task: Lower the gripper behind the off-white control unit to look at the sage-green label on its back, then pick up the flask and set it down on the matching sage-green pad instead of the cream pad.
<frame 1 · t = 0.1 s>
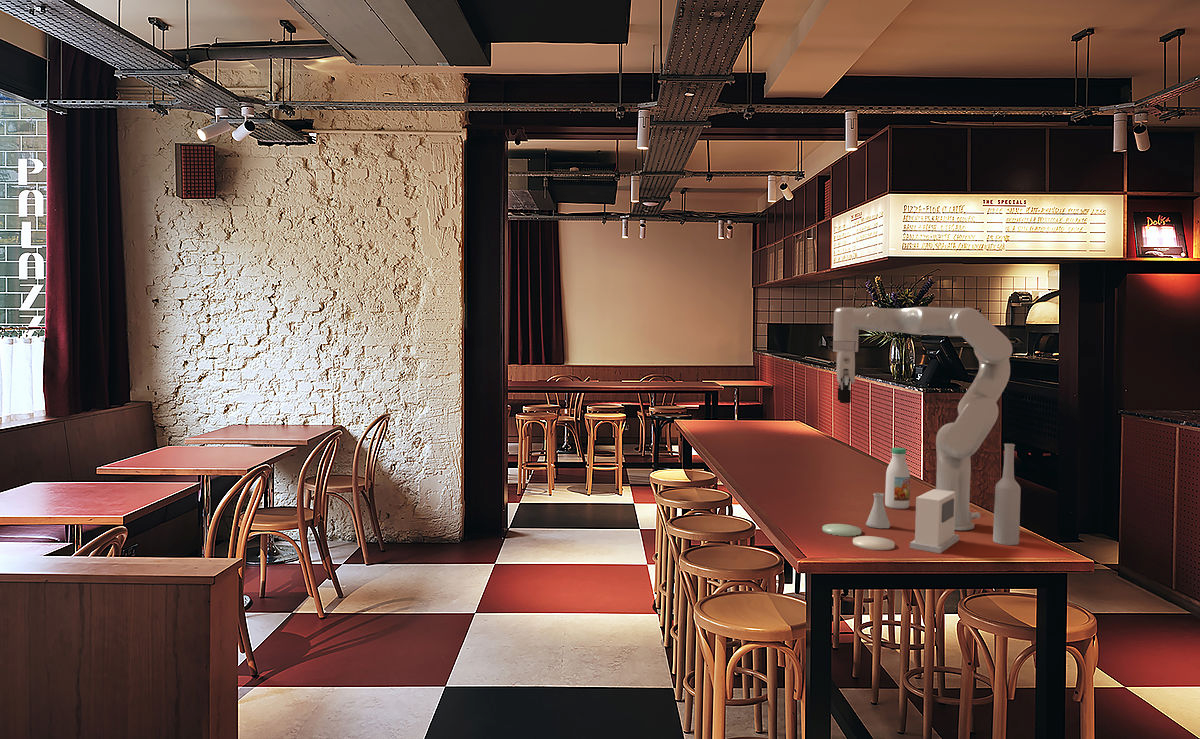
hand: (843, 401, 251), 37 cm above the table, tool pointing down, fingers open, 9 cm apart
control unit: (934, 544, 224), on the table
flask: (877, 527, 244), on the table
bottle: (1005, 543, 227), on the table
green pad: (841, 531, 237), on the table
milk bottle: (897, 507, 272), on the table
cream pad: (873, 544, 223), on the table
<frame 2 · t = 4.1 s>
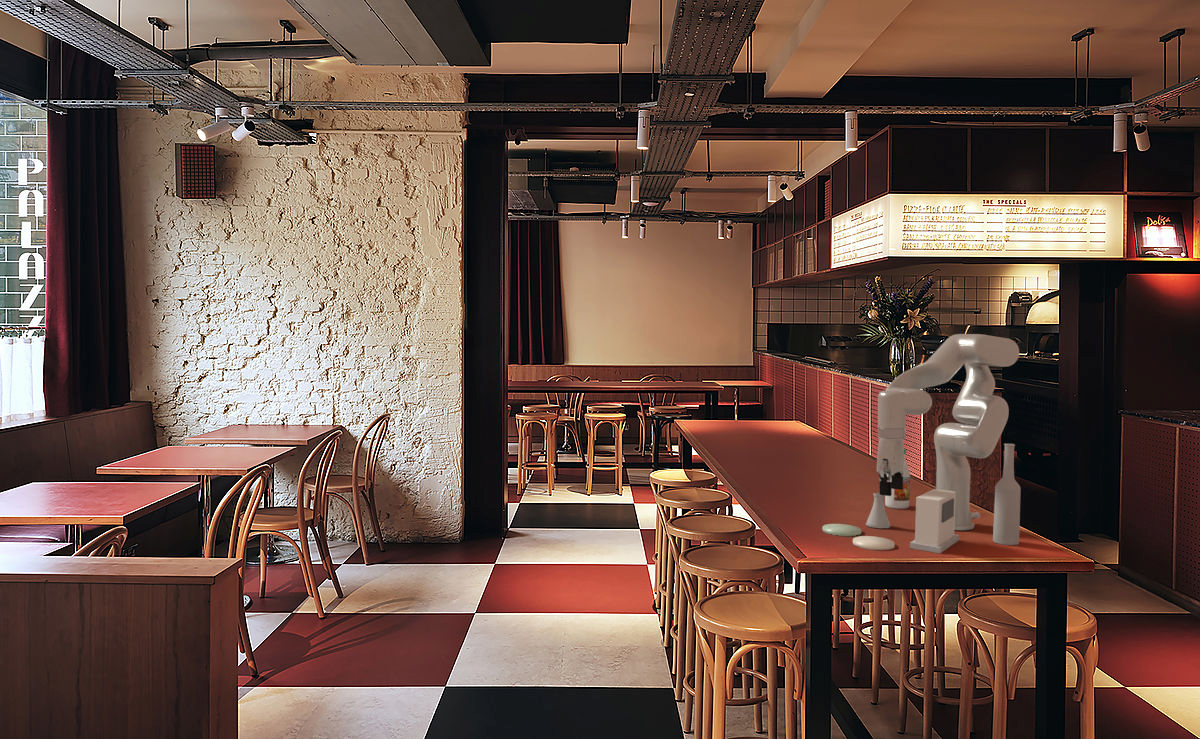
hand: (891, 492, 232), 13 cm above the table, tool pointing down, fingers open, 9 cm apart
nothing on the table moved.
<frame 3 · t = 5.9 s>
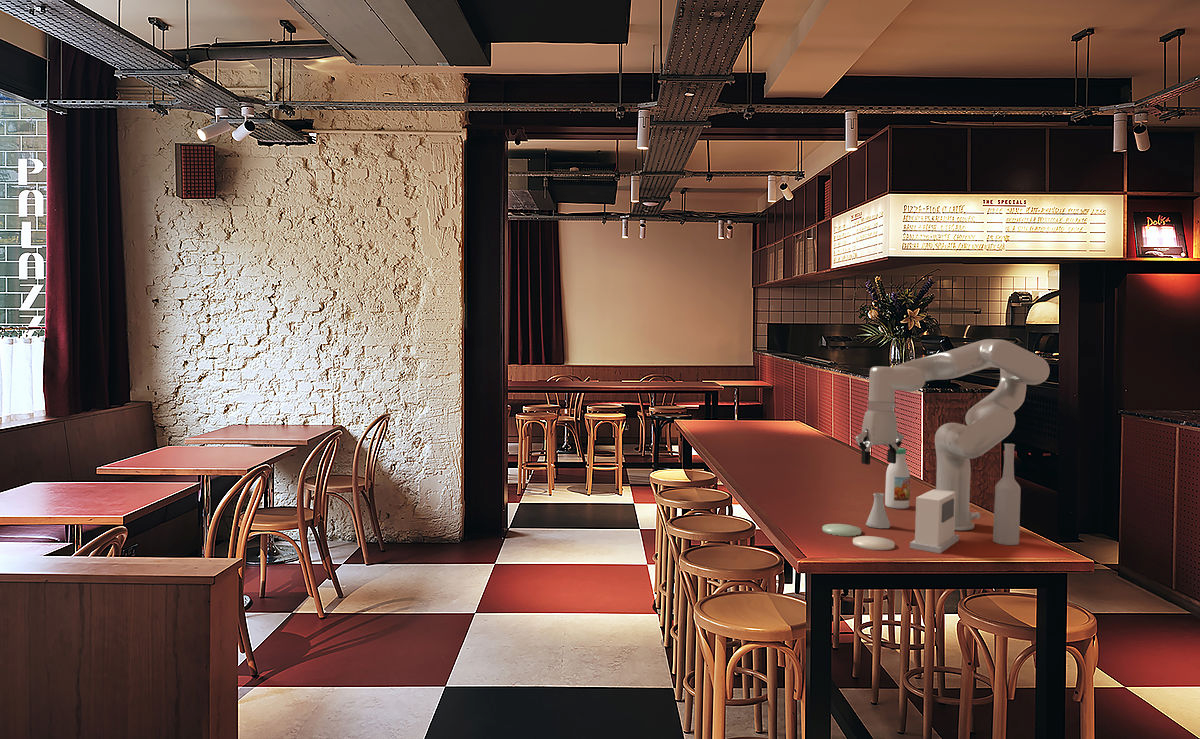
hand: (878, 463, 243), 19 cm above the table, tool pointing down, fingers open, 9 cm apart
nothing on the table moved.
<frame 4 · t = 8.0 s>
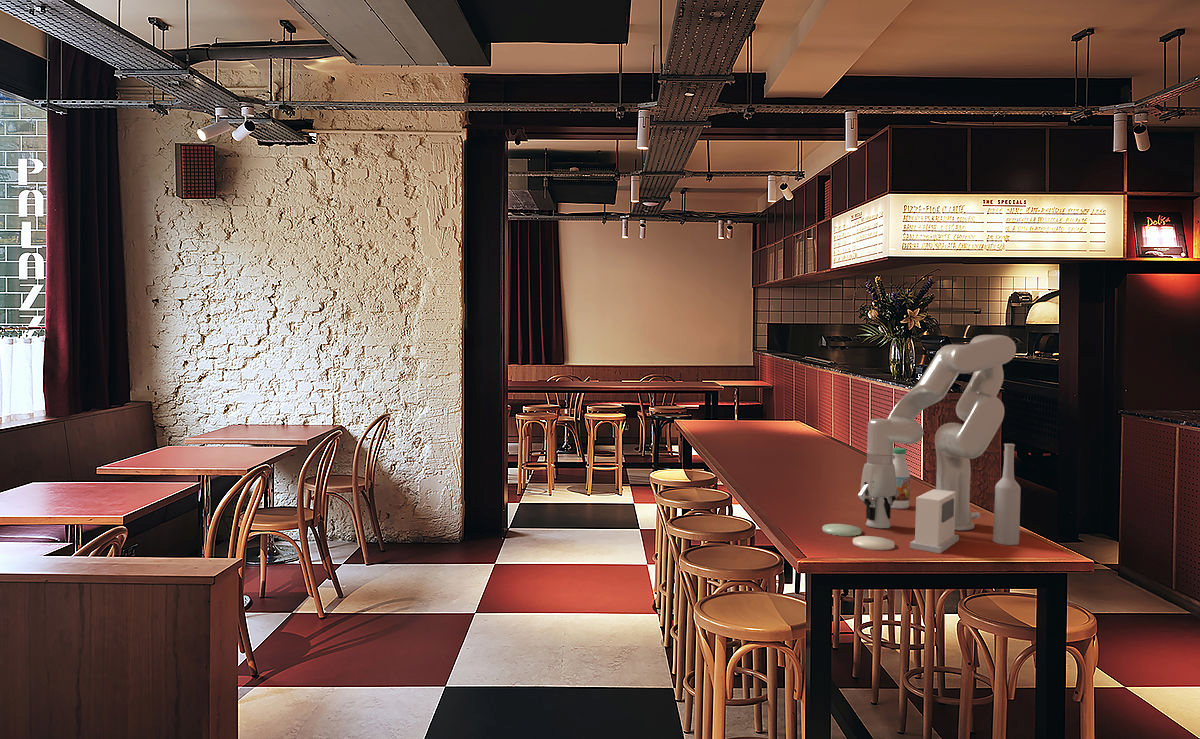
hand: (878, 518, 244), 2 cm above the table, tool pointing down, fingers closed on flask, 5 cm apart
flask: (878, 526, 244), on the table, touching gripper
everything else where it was.
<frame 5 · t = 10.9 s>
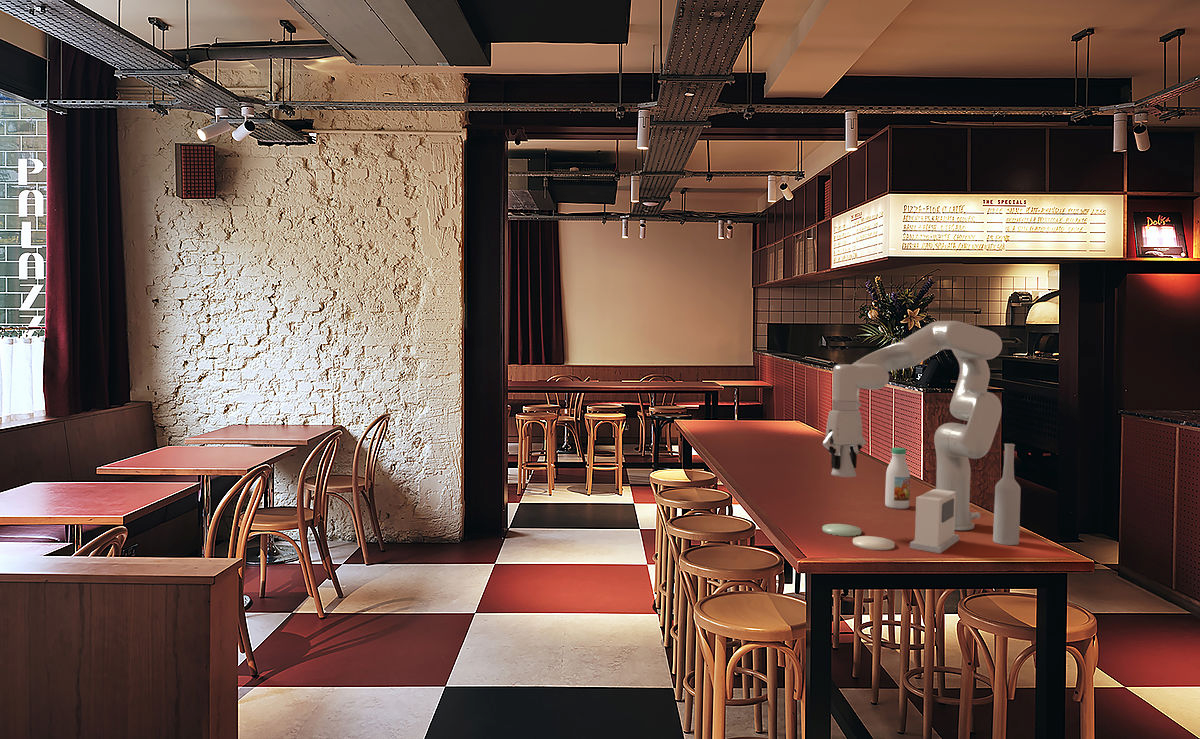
hand: (843, 467, 236), 19 cm above the table, tool pointing down, fingers closed on flask, 5 cm apart
flask: (843, 476, 236), point 16 cm above the table, touching gripper
everything else where it was.
when the fingers open (5 cm above the table, at t = 13.8 s): flask drops 2 cm, resting on green pad.
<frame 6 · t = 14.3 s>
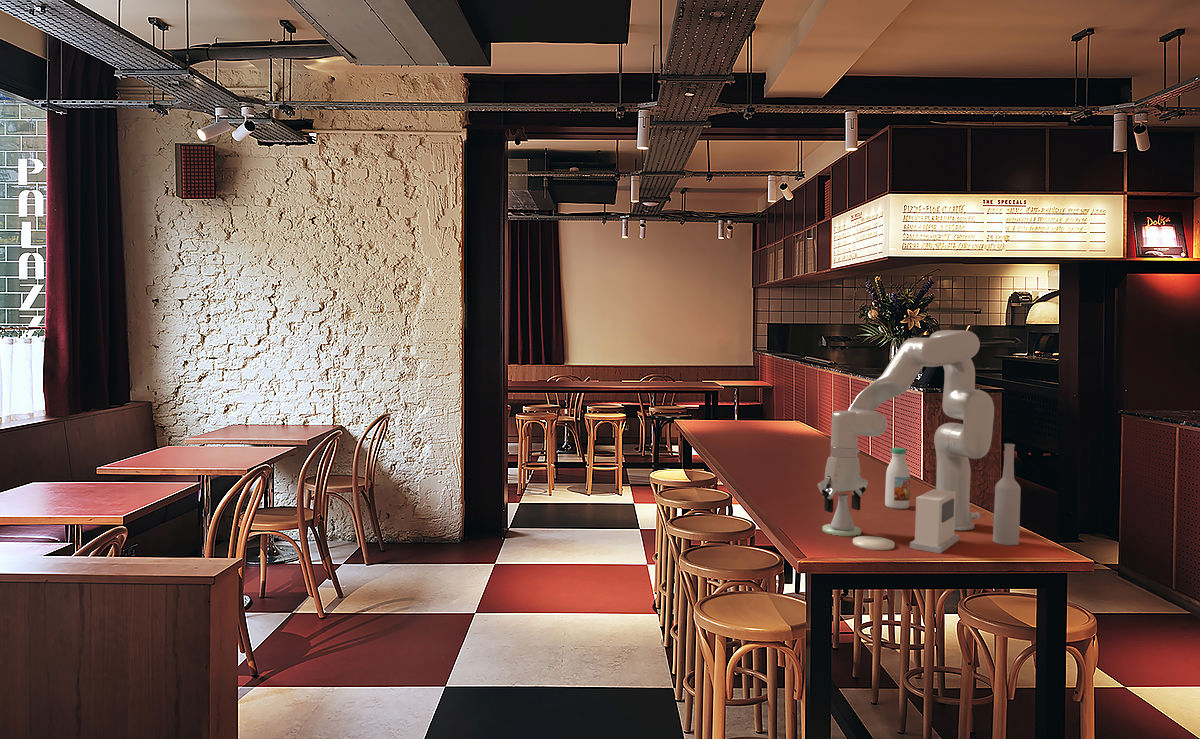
hand: (842, 510, 237), 6 cm above the table, tool pointing down, fingers open, 9 cm apart
flask: (842, 528, 237), point 1 cm above the table, touching green pad
everything else where it was.
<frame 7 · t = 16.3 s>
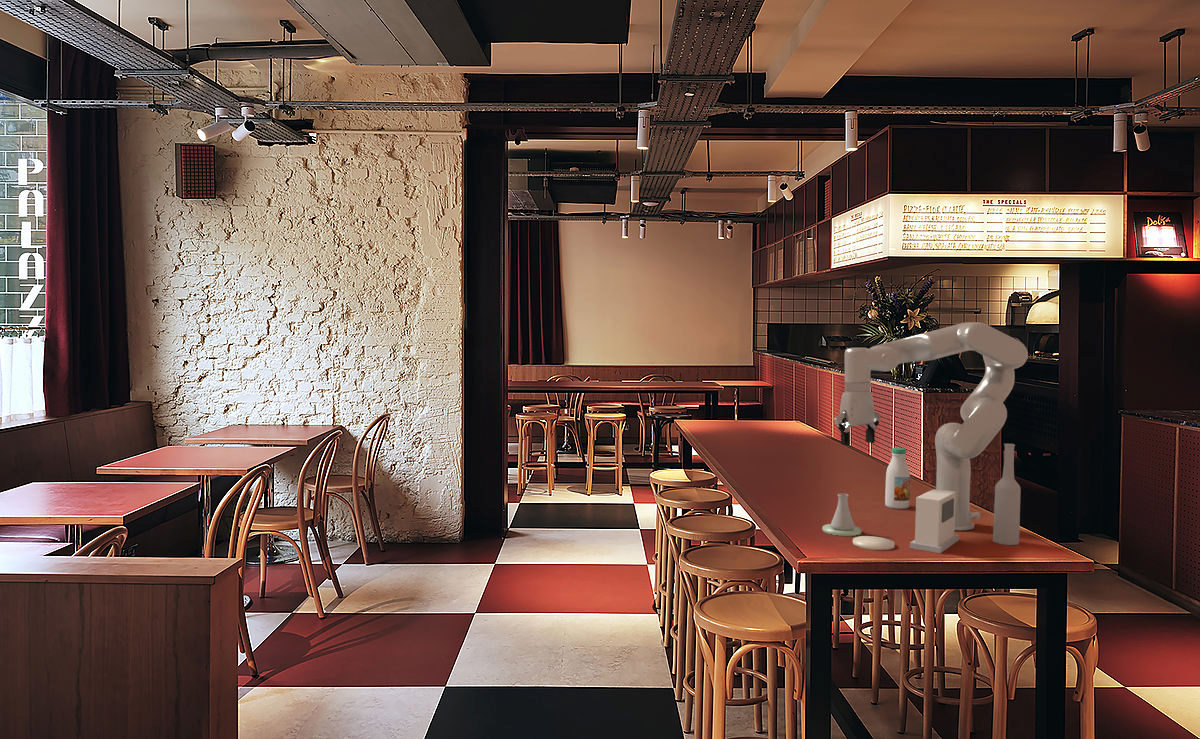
hand: (857, 443, 245), 25 cm above the table, tool pointing down, fingers open, 9 cm apart
nothing on the table moved.
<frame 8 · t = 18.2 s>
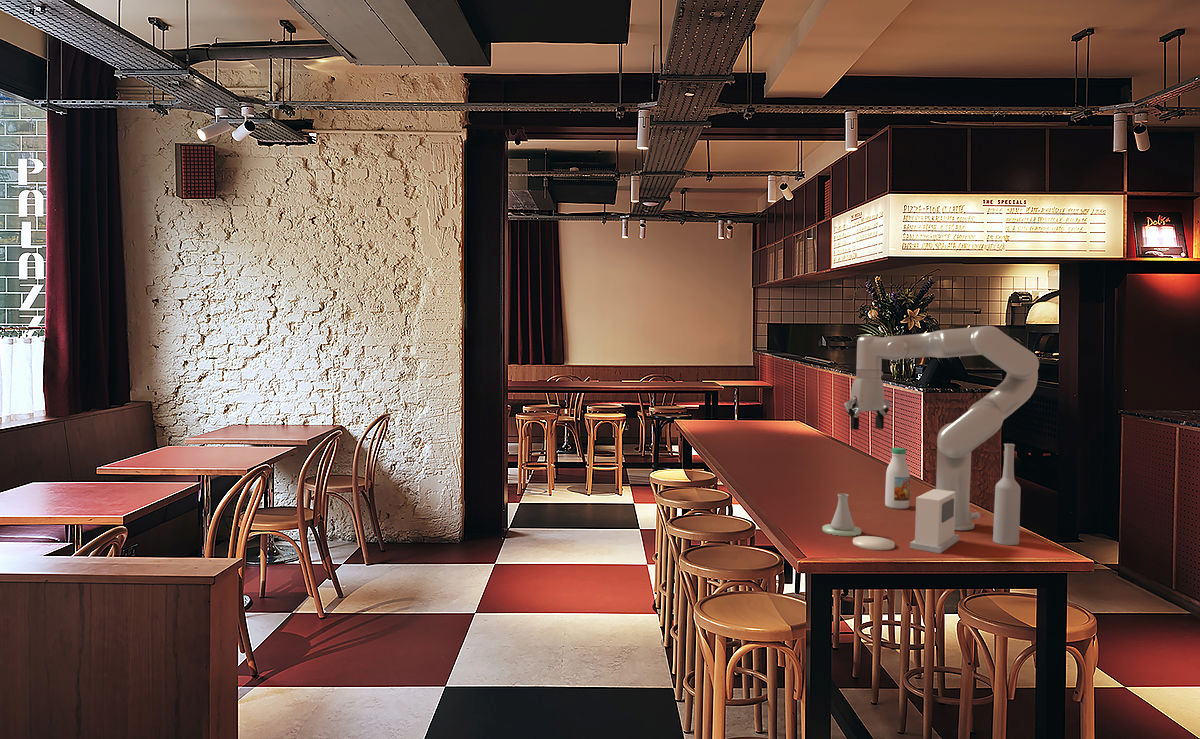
hand: (867, 429, 255), 28 cm above the table, tool pointing down, fingers open, 9 cm apart
nothing on the table moved.
at the end: flask inside the target area on the green pad (0.2 cm from its centre), point 0.8 cm above the green pad's base; flask tilted 0°; the gripper is holding nothing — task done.
